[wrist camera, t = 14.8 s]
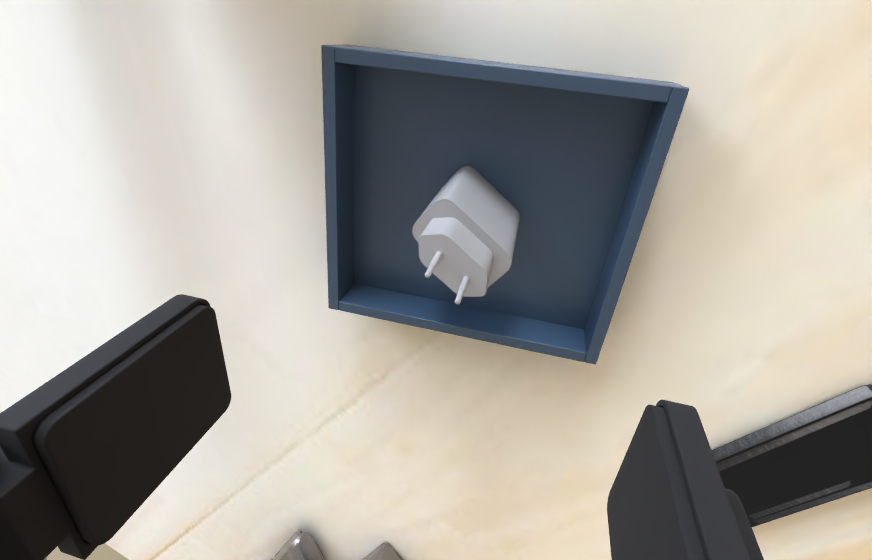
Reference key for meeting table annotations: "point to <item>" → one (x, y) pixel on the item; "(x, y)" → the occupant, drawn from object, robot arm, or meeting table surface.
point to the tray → (506, 171)
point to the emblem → (305, 556)
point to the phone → (802, 458)
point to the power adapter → (467, 234)
